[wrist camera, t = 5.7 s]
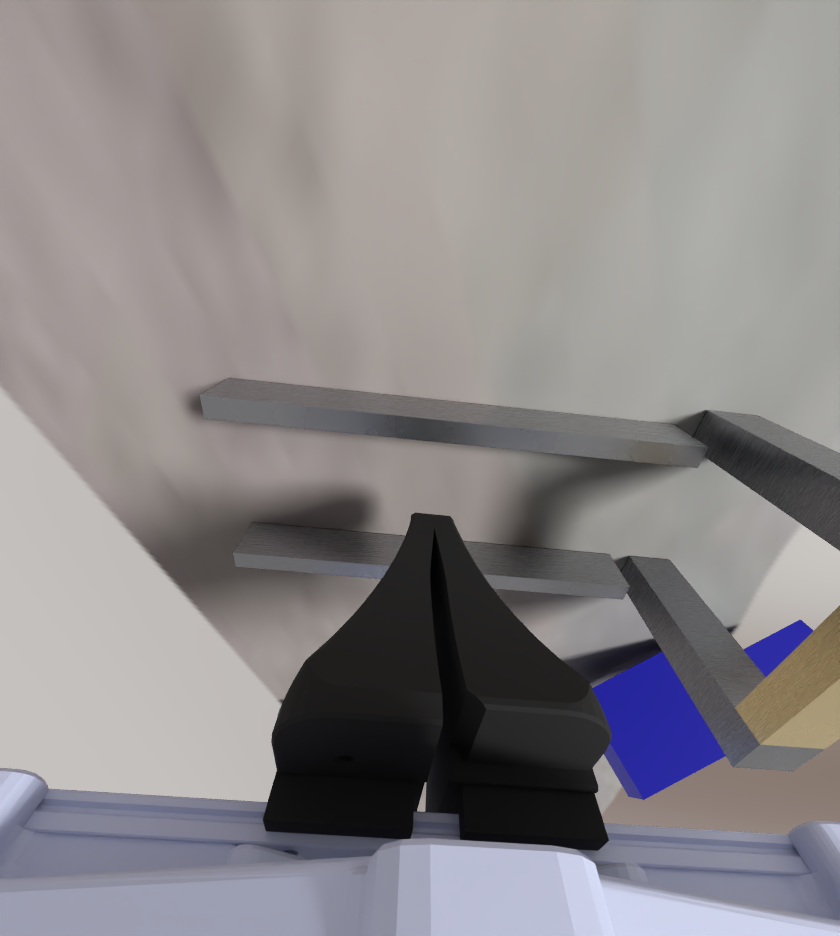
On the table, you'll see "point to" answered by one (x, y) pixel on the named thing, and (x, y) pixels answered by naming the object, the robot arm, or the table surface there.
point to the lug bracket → (711, 645)
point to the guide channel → (446, 425)
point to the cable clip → (670, 718)
